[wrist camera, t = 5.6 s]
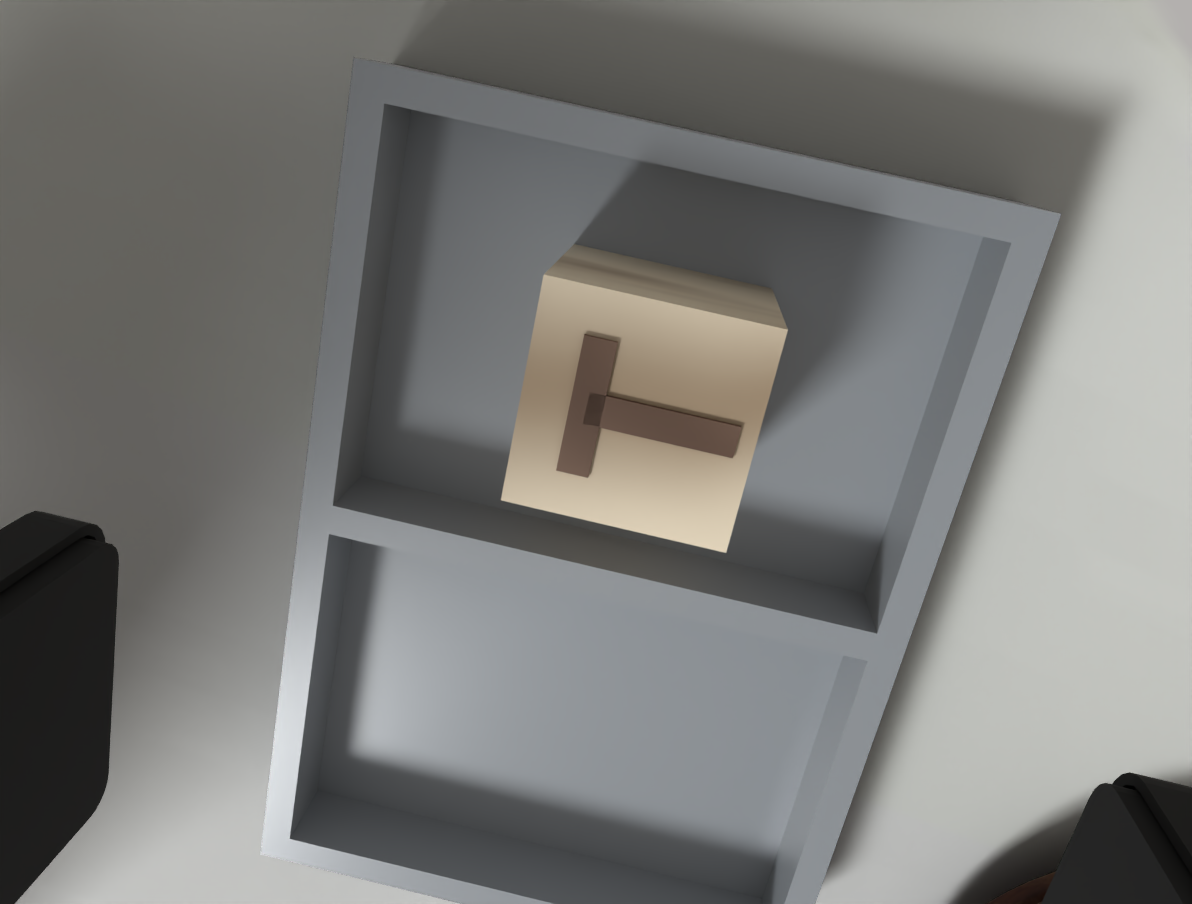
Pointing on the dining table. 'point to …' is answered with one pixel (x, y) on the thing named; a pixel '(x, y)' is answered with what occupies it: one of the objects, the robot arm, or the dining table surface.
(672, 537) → the letter block
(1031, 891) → the wooden disc sculpture
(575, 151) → the tray
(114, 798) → the dining table surface
